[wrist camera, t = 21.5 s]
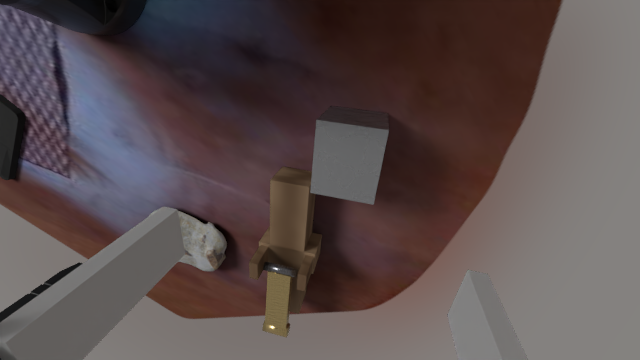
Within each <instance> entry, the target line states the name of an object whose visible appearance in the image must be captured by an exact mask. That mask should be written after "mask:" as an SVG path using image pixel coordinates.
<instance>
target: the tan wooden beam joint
mask: <svg viewBox="0 0 640 360" xmlns="http://www.w3.org/2000/svg"><path fill="white" fill-rule="evenodd" d="M311 178H312V171H306V170H300V169H294V168H289V167H282V168H281V169H280V170H279V171H278V172H277V173H276V174H275V175H274V177H273V178H272V179H271V180H270V226H269V228H268V229H267V231H266V232H265V234H264V235H263V237H262V238H261V240H260V241H259V248H258V250H257V251H256V253H255V254H254V256H253V257H252V259H251V260H250V262H249V271H250V278H253V279H257V280H258V278H259V276H260V275H261V273H262V271H263V266H264V263H265V262H266V261H267V262H271V263H275V264H279V265H284V266H288V267H292V268H296V269H298V274H297V277H296V278H295V277H293V278H292V289H291V299H290V310H289V311H291V312H294V313H298V314H299V312H300V309H301V306H302V303H303V300H304V297H305V294H306V289H307V284H308V281H309V278H310V275H311V274H313V273H314V270H315V267H316V264H317V261H318V257H319V254H320V248H321V239H322V235H321V234H317V233H312V226H313V216H314V205H315V195H316V194H314V193H310V190H311Z"/></svg>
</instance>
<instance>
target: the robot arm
mask: <svg viewBox="0 0 640 360" xmlns="http://www.w3.org/2000/svg"><path fill="white" fill-rule="evenodd" d="M145 3H146V0H0V4H2V5H8V6H12V7H14V8H17V9H19V10H22V11H24V12H27V13H29V14H32V15H34V16H37V17H39V18H42V19H44V20H47V21H50V22H52V23H55V24H57V25H60V26H62V27H65V28H67V29H70V30H73V31H76V32H80V33H85V34H96V35H114V34H118V33H121V32H123V31H125V30H127V29H128V28H130V27H131V26H132V25H133V24H134V23H135V22H136V20H137V19H138V18H139V16H140V14H141V12H142V10H143V8H144V6H145ZM184 255H185V249H184V243H183V238H182V232H181V226H180V221H179V215H178V210H177V209H173V208H168V207H162V208H160V209H159V210H158V211H156V212H155V213H153V214H152V215H151V216H149V217H148V218H146V219H145V220H144V221H142V222H141V223H139V224H138V225H137V226H135V227H134V228H132V229H131V230H129V231H128V232H127V233H125V234H124V235H122V236H121V237H120V238H118V239H117V240H115V241H114V242H113V243H111V244H110V245H108V246H107V247H106V248H104V249H103V250H101V251H100V252H99V253H97V254H96V255H94V256H93V257H92V258H90V259H89V260H87V261H86V262H84V263H77V264H75V265H73V266H71V267H69V268H67V269H64V270H62V271H60V272H59V273H57V274H56V275H54V276H53V277H52V278H50V279H49V280H47V281H46V282H45V283H44V284H43V285H40V286H39V287H37V288H35V289H34V290H33V291H31V293H30V294H27V295H25V296H24V297H22V298H21V299H19V300H18V301H17V302H15V303H14V304H12V305H11V306H9V307H8V308H6V309H5V310H4V311H2V312H1V313H0V360H83V359H84V357H86V355H88V353H90V351H91V350H92V349H93V348H94V347H95V346H96V345H97V344H98V343H99V342H100V341H101V340H102V339H103V338H104V337H105V336H106V335H107V334H108V333H109V332H110V331H111V330H112V329H113V328H114V327H115V326H116V325H117V324H118V323H119V322H120V321H121V320H122V319H123V317H124V316H125V315H126V314H127V313H128V312H129V311H130V310H131V309H132V308H133V307H134V306H135V305H136V304H137V303H138V302H139V301H140V300H141V299H142V298H143V297H144V296H145V295H146V294H147V293H148V292H149V291H150V290H151V289H152V288H153V287H154V286H155V285H156V283H157V282H158V281H159V280H160V279H161V278H162V277H163V276H164V275H165V274H166V273H167V272H168V271H169V270H170V269H171V268H172V267H173V266H174V265H175V264H176V263H177V262H178V261H179V260H180V259H181V258H182V257H183V256H184ZM447 315H448V320H449V324H450V328H451V332H452V336H453V341H454V345H455V349H456V353H457V357H458V360H528V359H527V357H526V354H525V352H524V350H523V348H522V346H521V344H520V342H519V339H518V338H517V335H516V333H515V331H514V329H513V327H512V325H511V323H510V320H509V318H508V316H507V314H506V312H505V310H504V307H503V305H502V303H501V301H500V299H499V297H498V295H497V293H496V291H495V288H494V286H493V284H492V282H491V280H490V278H489V275H488V274H486V273H480V272H476V271H471V270H467V273H466V275H465V277H464V279H463V281H462V283H461V286H460V288H459V290H458V292H457V294H456V297H455V299H454V301H453V303H452V306H451V308H450V310H449V312H448V314H447Z"/></svg>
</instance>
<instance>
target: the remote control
mask: <svg viewBox="0 0 640 360" xmlns="http://www.w3.org/2000/svg"><path fill="white" fill-rule="evenodd" d="M24 124H25V115H24V113H23V112H22V111H21V110H20V109H19V108H18V107H17V106H15V105H14V104H13V103H11V102H10V101H9V100H7V99H6V98H5V97H3V96H2V95H0V177H1V178H3V179H5V180H10V179H14V178H15V176H16V170H17V165H18V159H19V153H20V147H21V142H22V136H23V130H24Z"/></svg>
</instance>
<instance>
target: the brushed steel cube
mask: <svg viewBox="0 0 640 360" xmlns="http://www.w3.org/2000/svg"><path fill="white" fill-rule="evenodd" d="M388 133H389V119H388V113H382V112H375V111H367V110H360V109H352V108H345V107H338V106H330V107H329V108H328V109H327V110H326V111H325V112H324V113H323V114H322V115H321V116H320V117H319V118H318V119H317V120H316V131H315V143H314V154H313V166H312V178H311V190H310V193H314V194H319V195H325V196H330V197H335V198H341V199H346V200H351V201H357V202H362V203H367V204H373V205H374V200H375V195H376V191H377V186H378V181H379V176H380V171H381V167H382V162H383V157H384V152H385V147H386V143H387V138H388Z"/></svg>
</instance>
